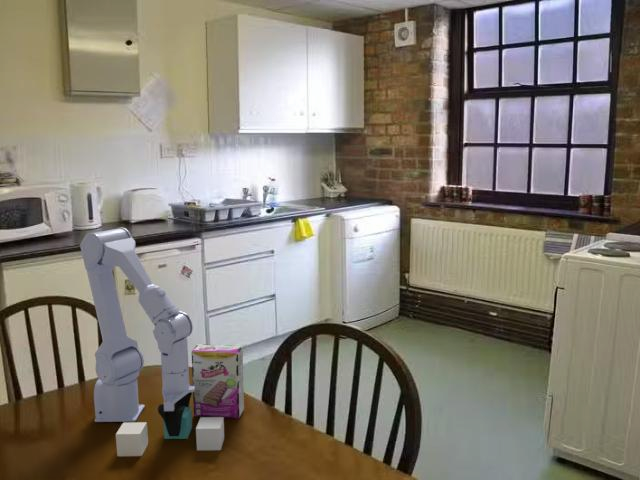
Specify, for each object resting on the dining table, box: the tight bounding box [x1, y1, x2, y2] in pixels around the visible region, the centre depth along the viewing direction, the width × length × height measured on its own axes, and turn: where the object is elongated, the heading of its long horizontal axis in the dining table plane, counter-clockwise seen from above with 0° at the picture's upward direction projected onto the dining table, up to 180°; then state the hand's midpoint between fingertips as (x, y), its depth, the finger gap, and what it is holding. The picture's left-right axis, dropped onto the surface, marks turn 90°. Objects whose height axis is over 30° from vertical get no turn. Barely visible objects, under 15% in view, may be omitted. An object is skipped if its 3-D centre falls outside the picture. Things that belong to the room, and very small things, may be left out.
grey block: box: [195, 417, 225, 451], centre depth 128 cm, size 5×5×5 cm
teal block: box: [162, 406, 193, 440], centre depth 133 cm, size 5×5×5 cm
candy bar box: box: [191, 343, 245, 419], centre depth 141 cm, size 11×5×16 cm, turn 84°
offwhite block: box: [115, 421, 149, 457], centre depth 126 cm, size 5×5×5 cm
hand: (178, 426), depth 133 cm, fingers open, 7 cm apart
